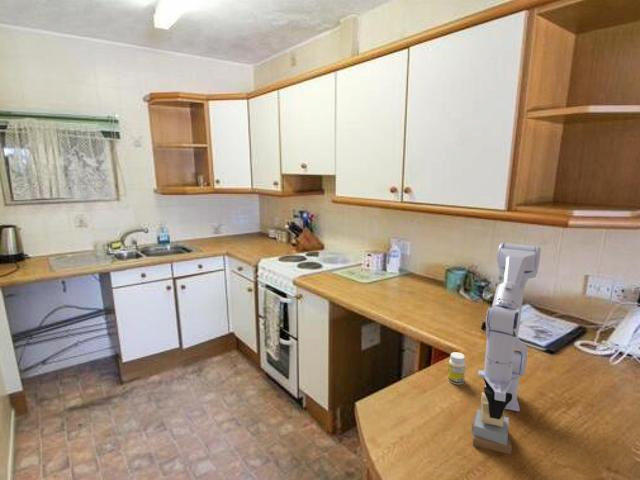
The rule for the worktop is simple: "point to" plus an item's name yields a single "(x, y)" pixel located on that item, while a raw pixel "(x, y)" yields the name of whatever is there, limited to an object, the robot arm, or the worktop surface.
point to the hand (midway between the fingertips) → (493, 410)
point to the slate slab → (491, 430)
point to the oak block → (485, 413)
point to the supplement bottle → (456, 368)
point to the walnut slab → (490, 442)
